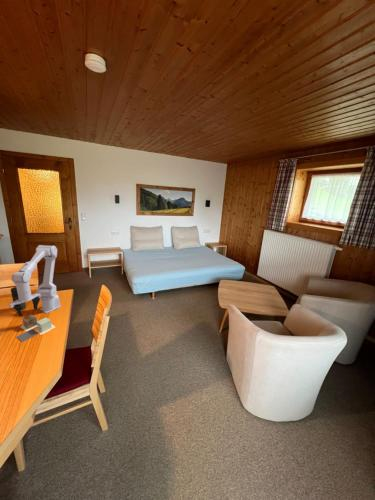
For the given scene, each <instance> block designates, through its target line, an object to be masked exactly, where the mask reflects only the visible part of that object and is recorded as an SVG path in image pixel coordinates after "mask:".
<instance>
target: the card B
mask: <svg viewBox="0 0 375 500" xmlns="http://www.w3.org/2000/svg"><path fill="white" fill-rule="evenodd" d="M51 326H52V328H50V329H48V330H46V331H44V332H41V331H40V330H39V329H38V327H35V328H33V331H34V332H35V333H36V332H37V333H38V334H39V335H43V334H46V333H47V332H49V331H51V330H53V329H54V328H56V326H55V325H54V324H52V323H51Z"/></svg>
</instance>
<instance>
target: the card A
mask: <svg viewBox="0 0 375 500" xmlns="http://www.w3.org/2000/svg"><path fill="white" fill-rule="evenodd" d="M19 328H21V329H22V330H24V331H25V332H27V331H29V330H34V329H36V328H38V327H37V325H36V326H33V327H31V328H29V329H27V328H26V327H25V326H24V324H22V325H20V326H19Z"/></svg>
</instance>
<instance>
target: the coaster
mask: <svg viewBox="0 0 375 500" xmlns="http://www.w3.org/2000/svg"><path fill="white" fill-rule="evenodd" d="M37 335H38V334H37V333H36V331H34V330H33V329H31V330H29V331H27V332H26V331H25V332H23V333H21V334H19V335H17V336H16V339H18V340H19V341H20V342H21V343H24V342H25V341H28V340H29V339H31V338H33V337H35V336H37Z"/></svg>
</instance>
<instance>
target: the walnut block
mask: <svg viewBox="0 0 375 500" xmlns="http://www.w3.org/2000/svg"><path fill="white" fill-rule="evenodd" d="M37 321H38V318H37V316H35V315H33V314H30V315H28V316H26V317H23V318H22V325H24V326H25V327H26V328H27V329H29V328H31V327H33V326H36V325H37Z"/></svg>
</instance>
